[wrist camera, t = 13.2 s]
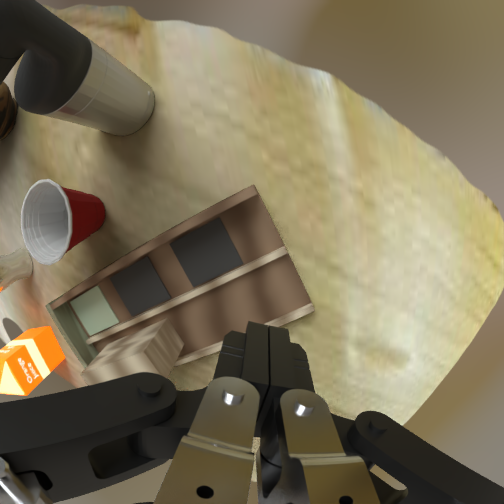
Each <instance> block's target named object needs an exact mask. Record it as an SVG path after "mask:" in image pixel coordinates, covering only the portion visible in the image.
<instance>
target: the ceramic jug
mask: <svg viewBox="0 0 504 504" xmlns="http://www.w3.org/2000/svg"><path fill="white" fill-rule="evenodd" d="M17 110H18V103H17V102H16V101H15V99H14V98H13V99H12V96H11V93H10V90H9V87H8V86H7V85H6V84H5V83H4V82H2V84H1V85H0V140H2V139H4V138H5V137H6V136H7V135H8V134H9V132H10V131H11V130H12V129H13V127H14V125H15V120H16V115H17Z"/></svg>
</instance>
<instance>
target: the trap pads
mask: <svg viewBox="0 0 504 504" xmlns="http://www.w3.org/2000/svg"><path fill="white" fill-rule="evenodd" d="M170 246H171V248H172V250H173V252H174V254H175V255H176V257H177V259H178V261H179V263H180V265H181V266H182V268H183V270H184V272H185V274H186V275H187V277H188V279H189V281H190V282H191V284H192V286H193V287H195V286H198V285H200V284H202V283H204V282H206V281H208V280H210V279H212V278H214V277H217V276H219V275H221V274H223V273H225V272H227V271H229V270H231V269H233V268H235V267H237V266H240V265H242V264H243V261H242V259H241V257H240V255H239V254H238V252H237V250H236V248H235V246H234V244H233V242H232V240H231V238H230V236H229V234H228V232H227V231H226V229H225V227H224V225H223V223H222V221H221V219H220V217H219V218H217V219H215V220H213V221H211V222H209V223H207V224H206V225H204V226H202V227H200V228H198V229H196V230H194V231H192V232H191V233H189V234H187V235H185V236H183V237H181V238H179V239H178V240H176V241H174V242H172V243H170ZM110 280H111V282H112V284H113V286H114V287H115V289H116V291H117V293H118V294H119V296H120V298H121V299H122V301H123V303H124V305H125V306H126V308H127V309H128V311H129V313H130V314H131V316H134V315H136V314H138V313H140V312H143V311H145V310H147V309H149V308H151V307H153V306H155V305H157V304H160V303H162V302H164V301H166V300H168V299H170V298H171V296H170V294H169V292H168V291H167V289H166V287H165V285H164V284H163V282H162V280H161V278H160V277H159V275H158V273H157V271H156V269H155V268H154V266H153V264H152V262H151V260H150V259H149V257H148V256H147V257H145V258H143V259H142V260H140V261H138V262H136V263H135V264H133V265H131V266H129V267H128V268H126V269H124V270H123V271H121V272H119V273H117V274H116V275H114V276H112V277H111V278H110Z"/></svg>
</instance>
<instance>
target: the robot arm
mask: <svg viewBox="0 0 504 504" xmlns="http://www.w3.org/2000/svg"><path fill="white" fill-rule="evenodd" d="M23 53H24V55H23V58H22V60H21V62H20V65H19V68H18V71H17V74H16V78H15V85H14V93H15V98H16V101H17V103H18V105H19V106H20V107H21V108H22V109H24V110H25V111H28V112H31V113H35V114H40V115H44V116H48V117H52V118H57V119H61V120H65V121H69V122H72V123H76V124H80V125H83V126H87V127H91V128H94V129H98V130H101V131H104V132H107V133H111V134H114V135H119V136H124V135H129V134H132V133H134V132H136V131H137V130H139V129H140V128H141V127H142V126H143V125H144V124H145V123H146V122H147V121H148V119H149V117H150V116H151V114H152V111H153V108H154V103H155V102H154V93H153V91H152V89H151V87H150V86H149V85H148V84H147V83H146V82H145V81H143V80H142V79H141V78H140V77H138V76H137V75H136V74H135V73H134V72H132V71H131V70H130V69H128V68H127V67H126V66H125V65H123V64H122V63H121V62H119V61H118V60H117V59H115V58H114V57H113V56H112V55H110V54H109V53H108V52H106V51H105V50H104V49H102V48H101V47H99V46H98V45H97V44H95V43H94V42H92V41H91V40H90V39H88V38H87V37H86V36H84V35H83V34H81V33H80V32H78V31H77V30H76V29H74V28H73V27H71V26H70V25H68V24H67V23H66V22H64V21H63V20H61V19H60V18H58V17H57V16H55V15H54V14H53V13H51V12H50V11H49V10H47V9H46V8H45V7H43V6H42V5H41V4H39V3H38V2H37V1H35V0H0V85H1V84H2V82H3V81H4V79H5V78H6V76H7V75H8V73H9V72H10V70H11V69H12V68H13V66H14V65H15V64H16V62H17V61H18V60H19V58H20V57H21V56H22V54H23ZM254 437H260V446H259V448H258V451H257V453H256V471H257V487H258V504H504V488H503V487H502V486H499V485H498V484H496V483H494V482H492V481H491V480H489V479H487V478H485V477H483V476H481V475H480V474H478V473H476V472H475V471H473V470H471V469H469V468H468V467H466V466H464V465H463V464H461V463H459V462H458V461H456V460H454V459H453V458H451V457H449V456H448V455H446V454H445V453H443V452H441V451H440V450H438V449H436V448H435V447H433V446H431V445H430V444H428V443H427V442H426V441H424V440H422V439H421V438H420V437H418V436H416V435H415V434H413V433H412V432H410V431H409V430H407V429H405V428H404V427H403V426H401V425H400V424H398V423H397V422H396V421H394V420H393V419H391V418H390V417H388V416H387V415H385V414H383V413H380V412H376V411H365V412H362V413H360V414H359V415H358V416H357V418H356V419H355V421H354V420H350V419H347V418H343V417H340V416H337V415H334V414H332V413H330V410H329V407H328V405H327V403H326V402H325V400H324V399H323V398H322V397H320V396H319V395H317V394H316V393H315V390H314V386H313V381H312V377H311V372H310V370H309V363H308V359H307V355H306V352H305V351H304V349H303V348H302V347H301V346H300V345H299V344H296V343H291V342H290V337H289V331H288V329H285V328H280V327H275V326H270V325H269V326H268V325H265V324H261V323H256V322H252V321H248V324H247V328H246V331H245V333H242V332H237V331H233V330H232V331H230V332H229V333H228V334H226V335H225V336H224V340H223V343H222V347H221V351H220V355H219V358H218V362H217V366H216V370H215V374H214V378H213V380H212V381H211V382H210V383H209V385H208V386H207V387H205V388H203V389H200V390H195V391H177V390H176V388H175V386H174V384H173V383H172V382H171V381H170V380H169V379H167V378H166V377H164V376H162V375H159V374H156V373H151V372H139V373H135V374H131V375H127V376H124V377H120V378H117V379H113V380H109V381H105V382H101V383H98V384H94V385H90V386H85V387H81V388H77V389H73V390H68V391H64V392H59V393H55V394H49V395H44V396H40V397H34V398H29V399H23V400H16V401H10V402H3V403H0V504H53V503H55V502H59V501H63V500H67V499H70V498H74V497H78V496H81V495H84V494H87V493H90V492H94V491H97V490H100V489H102V488H106V487H108V486H111V485H114V484H116V483H119V482H122V481H124V480H127V479H129V478H132V477H134V476H137V475H139V474H141V473H144V472H146V471H148V470H151V469H153V468H155V467H157V466H159V465H161V464H163V463H165V462H166V461H168V460H169V459H173V460H172V462H171V464H170V466H169V469H168V471H167V473H166V475H165V478H164V480H163V482H162V484H161V487H160V489H159V491H158V493H157V496H156V498H155V500H154V502H144V503H136V504H247V501H248V494H249V489H250V482H251V477H252V471H253V464H254V453H252V452H251V451H252V444H253V438H254ZM375 464H376V465H377V466H379V467H380V468H381V469H383V470H384V471H385V472H387V473H388V474H390V475H391V476H392V477H394V478H395V479H397V480H398V481H399V482H401V483H402V484H404V485H405V486H406V487H407V488H406V489H405V490H396V489H394V488H393V487H391V486H390V485H388V484H387V483H385V482H384V481H383V480H381V479H380V478H379V477H377V476H376V475H375V474H373V473H372V472H370V471H369V470H370V469H371V468H372V467H373V466H374V465H375Z"/></svg>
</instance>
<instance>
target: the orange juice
mask: <svg viewBox="0 0 504 504" xmlns="http://www.w3.org/2000/svg"><path fill="white" fill-rule="evenodd" d="M64 359H65V356H64V354H63V352H62V350H61V348H60V346H59V344H58V342H57V340H56V338H55V336H54V334H53V332H52V329H51V327H50V326H47V327H41V328H34V329H29V330H27V331H26V332H24V333H23V334H21V335H20V336H19V337H17V338H16V339H14V340H13V341H11V342H10V343H9V344H7V345H6V346H5V347H4V348H2V349H1V350H0V394H13V395H25V396H27V395H28V394H29V393H30V392H31V391H32V390H33V389H34V388H35V387H36V386H37V385H38V384H39V383H40V382H41V381H42V380H43V379H44V378H45V377H46V376H47V375H48V374H49V373H50V372H51V371H52V370H53V369H54V368H55V367H56V366H57V365H58V364H59V363H60V362H61V361H63V360H64Z"/></svg>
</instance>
